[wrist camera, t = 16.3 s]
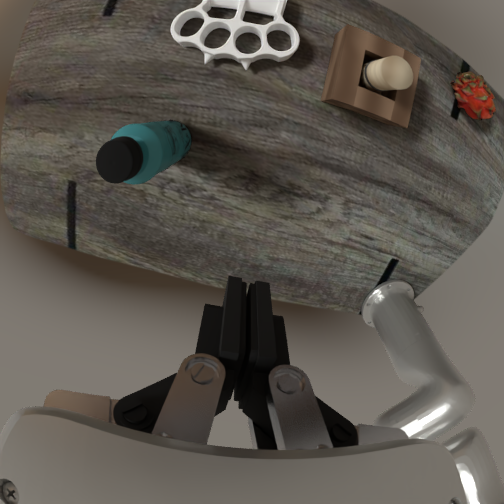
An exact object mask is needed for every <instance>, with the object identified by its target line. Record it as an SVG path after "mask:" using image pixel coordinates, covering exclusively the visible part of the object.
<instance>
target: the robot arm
mask: <svg viewBox="0 0 504 504" xmlns="http://www.w3.org/2000/svg"><path fill="white" fill-rule="evenodd" d="M246 286H247V283H246V282H242V278H238V277H233V276H229V277H228V282H227V286H226V291H225V296H224V301H223V306H222V307H220V306H215V305H210V304H205V306H204V311H203V316H202V321H201V327H200V332H199V336H198V342H197V347H196V352H195V354H193V355H190V356H188V357H187V358H185V359H184V360H183V362H182V363H181V365H180V368H179V370H178V372H177V373H175V374H173V375H171V376H169V377H167V378H165V379H163V380H161V381H159V382H157V383H154V384H152V385H150V386H148V387H146V388H143V389H141V390H139V391H137V392H135V393H132V394H130V395H128V396H125V397H123V398H122V399H120V400H116V399H111V398H110V397H109V396H99V395H92V394H85V393H78V392H72V391H66V390H54V391H52V392H50V393H49V394H48V395H47V396H46V399H45V401H44V406H43V407H40V406H35V407H26V408H22V409H20V410H18V411H17V412H15V413H14V414H13V415H12V416H11V417H10V418H9V420H8V421H7V423H6V424H5V426H4V427H3V429H2V431H1V433H0V504H504V483H503V482H502V480H501V477H500V475H499V472H498V469H497V466H496V463H495V460H494V458H493V455H492V453H491V450H490V448H489V445H488V443H487V441H486V439H485V437H484V435H483V434H482V432H481V431H480V430H479V429H478V428H476V427H470V428H467V429H465V430H463V431H461V432H460V433H458V434H456V435H455V436H453V437H451V438H450V439H448V440H447V441H445V442H443V443H442V444H440V443H438V442H435V441H432V440H435V439H436V438H438V437H440V436H441V435H443V434H444V433H446V432H448V431H449V430H451V429H452V428H454V427H455V426H456V425H458V424H459V423H460V422H462V421H463V420H464V419H465V418H466V417H467V416H468V414H469V413H470V412H471V410H472V408H473V406H474V402H475V395H474V392H473V389H472V387H471V385H470V384H469V382H468V381H467V380H466V379H465V377H464V376H463V375H462V374H461V373H460V371H459V370H458V369H457V368H456V366H455V365H454V363H453V362H452V361H451V359H450V358H449V356H448V355H447V353H446V352H445V350H444V349H443V347H442V345H441V344H440V342H439V341H438V339H437V338H436V336H435V334H434V333H433V331H432V330H431V328H430V326H429V325H428V323H427V322H426V320H425V319H424V317H423V316H422V314H421V313H420V312H423V309H424V308H423V307H422V306H417V305H416V303H415V302H414V301H413V300H414V291H413V289H412V287H411V286H410V284H409V283H407V282H406V281H404V280H400V279H394V280H389V281H387V282H384V283H382V284H380V285H379V286H377V287H376V288H375V289H373V290H372V291H371V292H370V293H369V295H368V296H367V297H366V299H365V301H364V303H363V305H362V310H361V312H362V317H363V319H364V321H365V323H366V324H367V325H369V326H371V327H374V328H376V330H377V332H378V334H379V336H380V338H381V340H382V342H383V345H384V347H385V349H386V351H387V353H388V355H389V358H390V360H391V362H392V364H393V366H394V369H395V372H396V374H397V376H398V377H399V378H400V380H401V381H403V382H404V383H406V384H408V385H411V386H414V387H418V390H417V391H415V392H414V393H413V394H411V395H410V396H409V397H407V398H406V399H404V400H403V401H401V402H399V403H398V404H396V405H395V406H393V407H391V408H389V409H388V410H386V411H384V412H383V413H382V414H380V415H379V416H378V417H377V418H376V420H375V421H374V424H373V425H364V424H358V425H357V426H354V425H353V424H352V423H351V422H350V421H349V420H347V419H346V418H344V417H343V416H342V415H340V414H339V413H338V412H336V411H335V410H333V409H332V408H331V407H329V406H328V405H327V404H325V403H324V402H323V401H321V400H320V399H319V398H317V397H316V396H315V394H314V392H313V389H312V386H311V383H310V381H309V378H308V376H307V375H306V374H305V373H304V372H303V371H302V370H301V369H299V368H298V367H295V366H292V365H290V361H289V353H288V346H287V339H286V332H285V326H284V325H285V324H284V319H283V317H282V316H276V315H273V314H272V304H271V294H270V285H269V283H266V282H261V281H255V284H252V283H250V285H249V289H248V293H247V297H246ZM233 390H234V401H239V409H243V413H245V414H246V415H247V416H248V417H249V418H248V424H249V429H250V435H251V440H252V445H253V449H243V448H231V447H222V446H213V445H207V441H208V437H209V434H210V430H211V427H212V423H213V419H214V417H215V416H216V415H218V414H219V413H221V412H222V411H224V410H225V409H226V406H227V403H228V400H230V399H231V396H232V393H233Z"/></svg>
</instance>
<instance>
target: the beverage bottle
mask: <svg viewBox="0 0 504 504" xmlns="http://www.w3.org/2000/svg"><path fill="white" fill-rule="evenodd" d="M158 121H160V120H158ZM190 134H191V133H190V132H189V130H188V129H187V127H186V126H184V124H181V123H180V121H179V122H177V121H176V120H174V121H173V120H169V121H166V120H165V121H160V122H154V121H153V122H149V123H148V122H147V123H142V124H130V125H126V126H124V127H122V128H121V129H119V130H118V131H117V132H116V133H115V134H114V135H113V137H112V139H111V140H110V141H108V142H106V143H105V144H104V145H103V146H102V147H101V148H100V150H99V151H98V154H97V157H96V166H97V170H98V172H99V174H100V176H101V177H102V178H103V179H104V180H106V181H107V182H110V183H121V182H125V183H128V184H141V183H144V182H146V181H148V180H150V179H151V178H152V177H154V176H155V175H156V174H158V173H159V172H161V171H164V170H165V169H166V168H167V169H168V167H171V165H172V164H174V163H175V164H176V163H177V161H179V160H180V159H181V160H182V158H185V157H184V156H185V155H186V154H187V153H188V151H189V149H190V146H191V145H192V144H191V138H192V137H191V135H190ZM181 160H180V161H181ZM172 166H173V165H172ZM161 173H162V172H161Z"/></svg>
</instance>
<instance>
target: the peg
mask: <svg viewBox="0 0 504 504" xmlns="http://www.w3.org/2000/svg"><path fill="white" fill-rule="evenodd" d="M412 82H413V72H412V69H411V67H410V65H409V64H408V62H407V61H406V60H404V59H403V58H401V57H399V56H389V57H385V58H382V59H379V60H373V61H370V62H369V63H366V64H363V65H362V70H361V74H360V79H359V84H358V86H360V87H362V88H365V89H367V90H370V91H388V90H401V89H407V88H408V87H410V85H411V84H412Z"/></svg>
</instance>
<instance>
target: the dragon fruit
mask: <svg viewBox="0 0 504 504" xmlns="http://www.w3.org/2000/svg"><path fill="white" fill-rule="evenodd" d="M454 82H455V81H453V80H452V81H451V83H450V84H451V86H452V88H453V89H454V90H455V93H454V95H455V98H456V99H457V102H458V105H457V106H458V108H464V109H465V111H466V113H467V114H468V115H469V116H470V117H471V118H473V119H477V120H482V118H483V119H489V118H491V117H492V116H493V114H494V113H492V112H495V111H496V109H495V104H494V102H493V101H492V99H495V98H494V96H493V94H492V93H491V91H490V89H489V87H487V85H486V83H485V82H484V79H483V76H482V75H479V76H476V75H475V74H473V73H472V72H471V71H469V72H466V73H463V74H462V73H460V72H459V73H457V76H456V83H454Z"/></svg>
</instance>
